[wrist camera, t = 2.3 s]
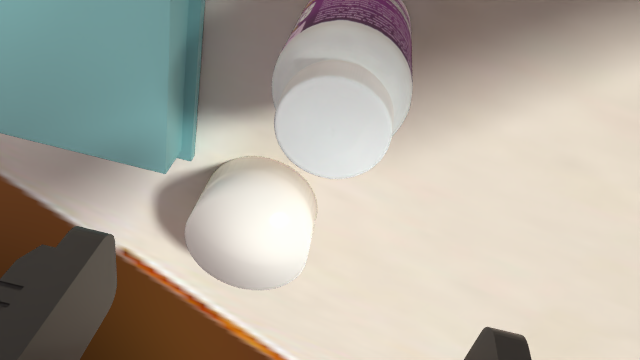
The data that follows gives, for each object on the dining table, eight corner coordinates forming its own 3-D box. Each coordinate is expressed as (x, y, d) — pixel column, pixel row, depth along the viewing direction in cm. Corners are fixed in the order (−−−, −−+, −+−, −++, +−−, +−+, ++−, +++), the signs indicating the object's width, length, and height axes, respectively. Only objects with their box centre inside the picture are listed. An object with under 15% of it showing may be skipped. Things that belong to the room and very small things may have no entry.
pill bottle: (297, -28, 23) (243, 50, 16) (415, -28, 23) (420, 54, 15) (303, 81, 27) (260, 191, 19) (406, 84, 26) (407, 200, 18)
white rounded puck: (211, 142, 30) (187, 182, 27) (328, 171, 30) (318, 215, 27) (203, 230, 34) (182, 273, 31) (306, 255, 34) (295, 301, 31)
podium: (-29, -101, 24) (-79, -91, 21) (207, -41, 24) (185, -25, 21) (9, 109, 30) (-26, 135, 28) (194, 155, 30) (175, 185, 28)
